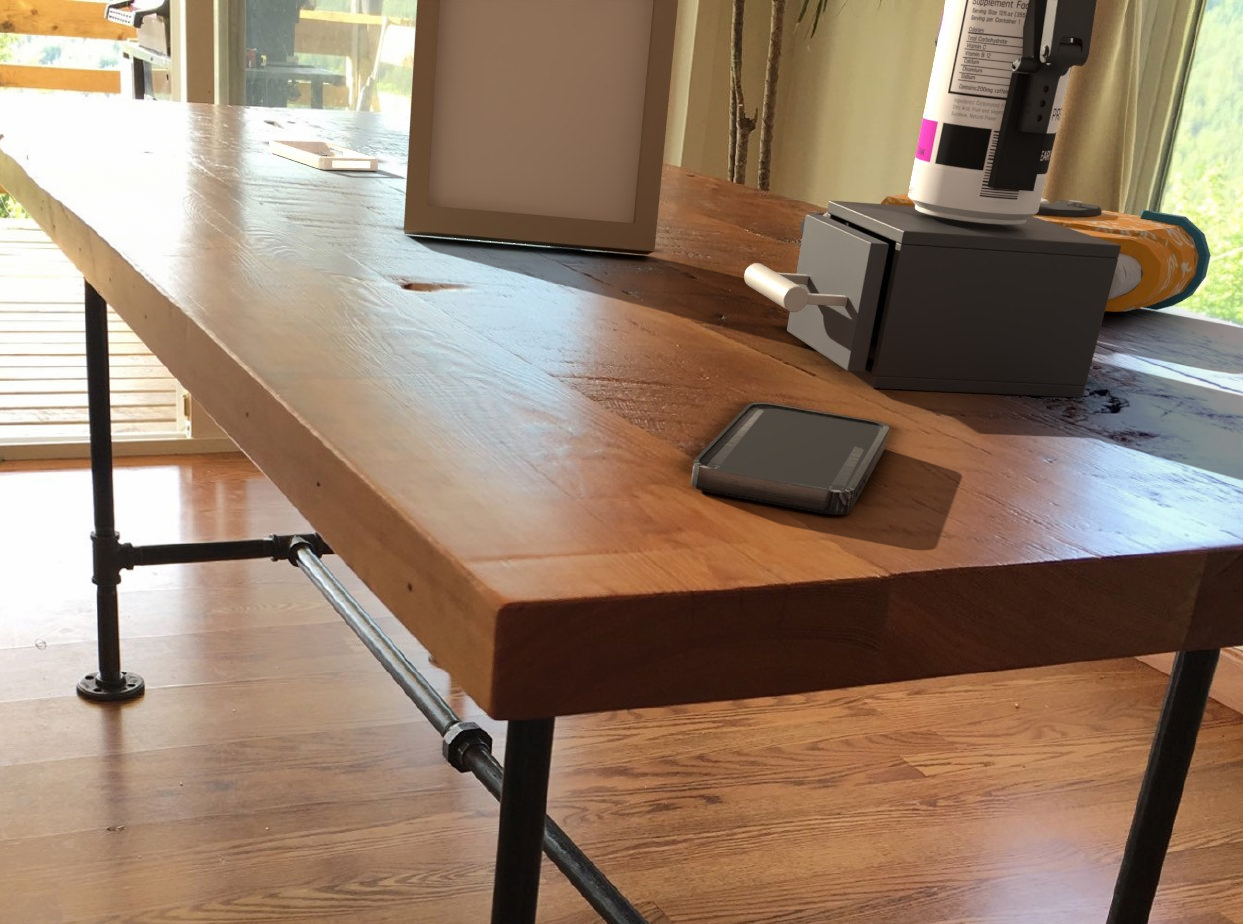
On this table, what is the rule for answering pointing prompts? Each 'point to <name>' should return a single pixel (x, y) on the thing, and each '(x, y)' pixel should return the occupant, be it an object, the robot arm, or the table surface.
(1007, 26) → the supplement can
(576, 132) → the photo frame
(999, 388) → the small grey cabinet
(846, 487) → the phone
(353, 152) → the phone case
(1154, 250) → the device
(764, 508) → the table surface
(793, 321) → the drawer
